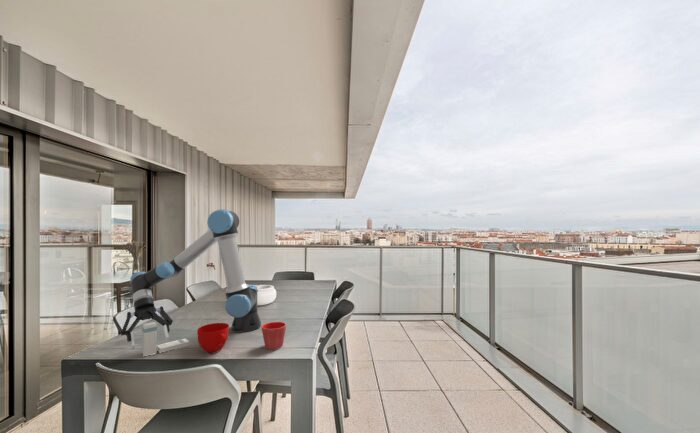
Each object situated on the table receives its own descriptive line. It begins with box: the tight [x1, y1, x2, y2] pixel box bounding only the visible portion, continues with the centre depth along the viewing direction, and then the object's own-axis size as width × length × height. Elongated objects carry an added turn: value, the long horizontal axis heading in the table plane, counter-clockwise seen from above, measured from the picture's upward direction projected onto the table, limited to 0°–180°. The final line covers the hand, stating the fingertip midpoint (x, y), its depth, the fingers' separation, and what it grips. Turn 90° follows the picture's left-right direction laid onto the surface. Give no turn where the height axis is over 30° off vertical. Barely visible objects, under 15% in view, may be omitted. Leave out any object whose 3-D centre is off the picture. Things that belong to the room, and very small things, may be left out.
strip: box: [157, 338, 190, 354], centre depth 136 cm, size 12×6×2 cm, turn 135°
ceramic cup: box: [196, 322, 230, 354], centre depth 132 cm, size 13×17×10 cm
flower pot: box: [261, 321, 287, 351], centre depth 136 cm, size 11×11×10 cm
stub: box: [141, 321, 158, 357], centre depth 130 cm, size 5×5×13 cm
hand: (150, 343), depth 128 cm, fingers open, 12 cm apart
